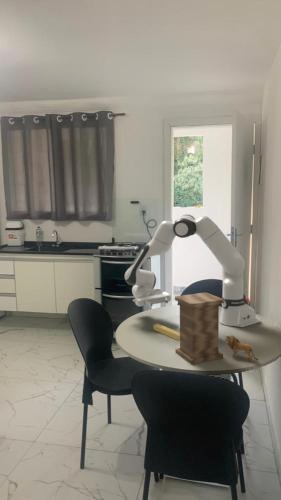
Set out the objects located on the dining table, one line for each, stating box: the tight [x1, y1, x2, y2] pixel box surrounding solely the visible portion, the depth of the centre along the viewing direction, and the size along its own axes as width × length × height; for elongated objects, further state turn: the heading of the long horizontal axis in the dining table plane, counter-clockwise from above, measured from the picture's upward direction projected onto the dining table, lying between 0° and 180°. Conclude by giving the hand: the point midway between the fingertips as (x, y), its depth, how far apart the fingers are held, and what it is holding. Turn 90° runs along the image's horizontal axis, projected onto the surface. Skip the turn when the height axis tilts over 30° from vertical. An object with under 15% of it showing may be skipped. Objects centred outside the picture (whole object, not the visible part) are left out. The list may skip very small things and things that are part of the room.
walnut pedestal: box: [174, 291, 224, 365], centre depth 172 cm, size 16×14×26 cm
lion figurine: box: [224, 334, 259, 363], centre depth 170 cm, size 15×5×9 cm, turn 55°
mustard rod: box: [153, 323, 180, 342], centre depth 198 cm, size 3×24×3 cm, turn 36°
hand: (159, 303), depth 209 cm, fingers open, 8 cm apart
